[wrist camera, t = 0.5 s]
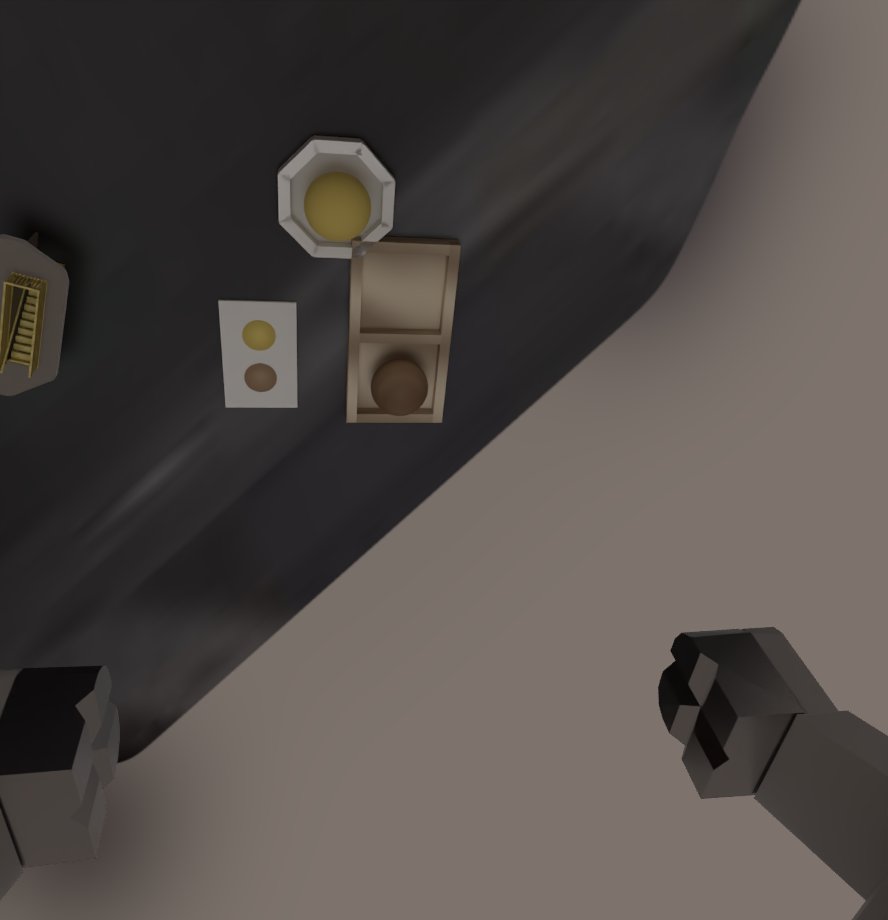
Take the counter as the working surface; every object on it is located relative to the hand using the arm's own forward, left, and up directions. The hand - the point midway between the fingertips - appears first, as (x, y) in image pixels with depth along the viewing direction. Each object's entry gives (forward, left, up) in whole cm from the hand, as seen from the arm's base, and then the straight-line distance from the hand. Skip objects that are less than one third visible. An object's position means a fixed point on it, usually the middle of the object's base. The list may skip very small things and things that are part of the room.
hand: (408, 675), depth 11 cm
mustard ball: (+4, +1, -42) cm, 42 cm away
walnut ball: (+16, +5, -42) cm, 45 cm away
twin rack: (+13, +5, -42) cm, 44 cm away
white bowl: (+4, +1, -42) cm, 42 cm away
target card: (+15, -4, -42) cm, 45 cm away
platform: (+11, -17, -43) cm, 47 cm away
